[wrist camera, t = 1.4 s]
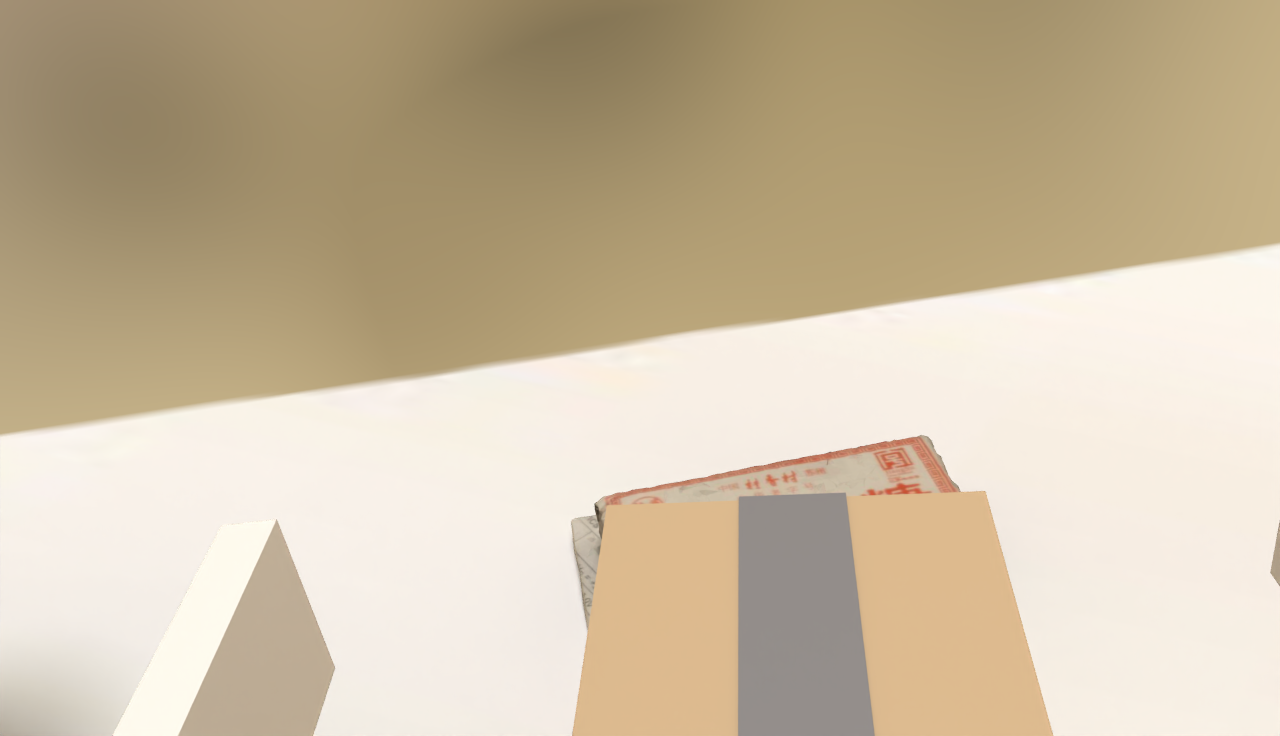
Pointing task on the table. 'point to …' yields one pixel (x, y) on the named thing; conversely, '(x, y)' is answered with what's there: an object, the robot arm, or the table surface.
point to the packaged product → (780, 488)
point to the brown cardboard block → (807, 621)
